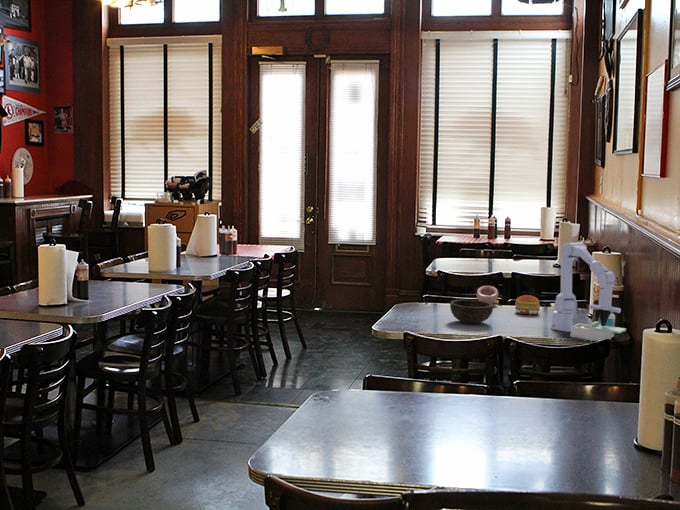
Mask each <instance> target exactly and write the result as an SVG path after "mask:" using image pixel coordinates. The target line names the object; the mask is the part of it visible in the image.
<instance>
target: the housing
mask: <svg viewBox="0 0 680 510" xmlns="http://www.w3.org/2000/svg"><path fill="white" fill-rule="evenodd" d="M580 326H586V328H581V327H580ZM590 327H591V324H585V323H581V322H580V323H579V322H578V323H576V324H574V325H573V324H572V326H571V331H570V335H569V338H570V337H573V338H581V339H586V340H590V341H589V342H592V341H599V340H604V339H609V340H610V341H611V340H612V338H611V332H607V331H600V330H595V329H590ZM573 338H572V339H573ZM586 340H585V341H586Z"/></svg>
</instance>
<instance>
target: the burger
mask: <svg viewBox="0 0 680 510" xmlns="http://www.w3.org/2000/svg"><path fill="white" fill-rule="evenodd" d="M514 304H515V307H514V309H515V311H516V313H518V314H521V315H522V314H523V315H537V314H538V313H539V311H540V308H541V304H540V300H539V299H538V298H537V297H536V296H533V295H531V294H530V295H529V294H524V295H521V296H518V297H517V298H516V299H515V303H514Z"/></svg>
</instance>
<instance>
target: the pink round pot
mask: <svg viewBox="0 0 680 510" xmlns="http://www.w3.org/2000/svg"><path fill="white" fill-rule="evenodd" d="M498 297H499V291H498V289H497V288H496V287H495V286H491V285H488V284H487V285H482V286H480V287H479V288H478V289H477V290H476V298H477V300H478V301H485V302H489V303H492V304H493V305H494V303H496V301H497V300H498Z"/></svg>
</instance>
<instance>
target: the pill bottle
mask: <svg viewBox="0 0 680 510" xmlns="http://www.w3.org/2000/svg"><path fill="white" fill-rule="evenodd" d="M605 310H606V309H605ZM598 322H599V325H601V321H600V318H599V317H598ZM615 323H616V315H615V314H614V313H613V312H611V314H610V316H609V317H608V319H607V322H606V326H612V327H616V326H615ZM614 335H615V333H614V332H611V339H612V338H613V337H615V336H614Z"/></svg>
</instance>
